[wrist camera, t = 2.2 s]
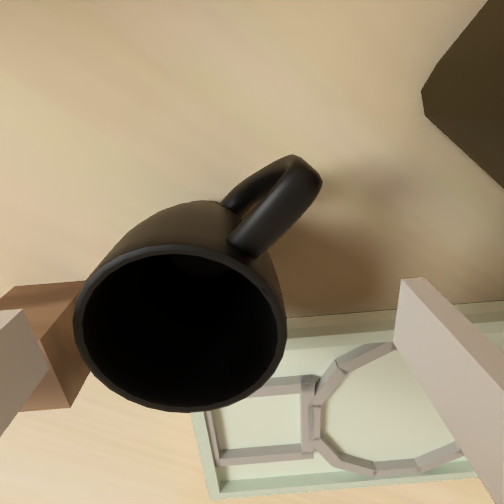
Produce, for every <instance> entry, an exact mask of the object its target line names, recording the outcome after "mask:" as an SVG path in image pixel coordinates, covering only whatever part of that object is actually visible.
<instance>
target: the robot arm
mask: <svg viewBox="0 0 504 504" xmlns="http://www.w3.org/2000/svg"><path fill="white" fill-rule="evenodd" d="M393 343H394V345H395V346H396V348H397V349H398V351H399V353H400V354H401V356H402V357H403V359H404V360H405V362H406V364H407V365H408V367H409V368H410V370H411V372H412V373H413V375H414V376H415V378H416V379H417V381H418V383H419V384H420V386H421V387H422V389H423V390H424V392H425V394H426V395H427V397H428V398H429V400H430V401H431V403H432V405H433V406H434V408H435V409H436V411H437V413H438V414H439V416H440V417H441V419H442V420H443V422H444V424H445V425H446V427H447V428H448V430H449V431H450V433H451V435H452V436H453V438H454V439H455V441H456V442H457V444H458V446H459V447H460V449H461V450H462V452H463V454H464V455H465V457H466V458H467V460H468V461H469V463H470V465H471V466H472V468H473V469H474V471H475V472H476V474H477V476H478V477H479V479H480V480H481V482H482V483H483V485H484V487H485V488H486V490H487V491H488V493H489V494H490V496H491V498H492V499H493V501H494V502H495V504H504V353H503V352H502V351H501V350H500V349H498V348H497V347H496V346H495V345H494V344H493V343H492V342H491V341H490V340H489V339H488V338H487V337H486V336H485V335H484V334H483V333H482V332H481V331H480V330H479V329H478V328H476V327H475V326H474V325H473V324H472V323H471V322H470V321H469V320H468V319H467V318H466V317H465V316H464V315H463V314H462V313H461V312H460V311H459V310H458V309H457V308H455V307H454V306H453V305H452V304H451V303H450V302H449V301H448V300H447V299H446V298H445V297H444V296H443V295H442V294H441V293H440V292H439V291H438V290H437V289H436V288H434V287H433V286H432V285H431V284H430V283H429V282H428V281H427V280H426V279H425V278H424V277H418V278H405V279H401V285H400V292H399V300H398V307H397V315H396V322H395V329H394V337H393ZM48 370H49V367H48V365H47V363H46V360H45V358H44V356H43V353H42V351H41V349H40V347H39V344H38V342H37V340H36V338H35V335H34V333H33V331H32V329H31V326H30V324H29V322H28V319H27V317H26V315H25V313H24V310H23V309H14V310H2V311H0V437H1V435H2V434H3V432H4V431H5V430H6V428H7V427H8V425H9V424H10V423H11V421H12V420H13V419H14V417H15V416H16V414H17V413H18V412H19V410H20V409H21V408H22V406H23V405H24V403H25V402H26V401H27V399H28V398H29V396H30V395H31V394H32V392H33V391H34V390H35V388H36V387H37V385H38V384H39V383H40V381H41V380H42V379H43V377H44V376H45V374H46V373H47V372H48Z"/></svg>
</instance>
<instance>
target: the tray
mask: <svg viewBox="0 0 504 504" xmlns="http://www.w3.org/2000/svg"><path fill="white" fill-rule="evenodd" d="M453 306H454V307H455V308H457V309H458V310H459V311H460V312H461V313H462V314H463V315H464V316H465V317H466V318H467V319H468V320H469V321H470V322H471V323H472V324H473V325H474V326H475V327H476V328H478V329H479V330H480V331H481V332H482V333H483V334H484V335H485V336H486V337H487V338H488V339H489V340H490V341H491V342H492V343H493V344H494V345H495V346H496V347H497V348H498V349H500V350H501V351H502V352H503V353H504V300H503V301H491V302H479V303H467V304H455V305H453ZM396 315H397V309H395V310H383V311H371V312H359V313H347V314H335V315H323V316H311V317H299V318H287V332H288V338H287V342H286V346H285V351H284V355H283V358H282V360H281V362H280V363H279V365H278V367H277V369H276V371H275V373H274V374H273V375H272V376H271V377H270V378H269V380H268V381H267V382H266V383H265V384H264V385H263V386H262V387H261V388H260V389H258V390H257V391H255V392H254V393H253V394H251V395H250V396H248V397H247V398H245V399H243V400H241V401H238V402H236V403H234V404H232V405H230V406H227V407H223V408H219V409H215V410H211V411H204V412H194V413H190V414H191V419H192V423H193V427H194V432H195V436H196V441H197V445H198V449H199V454H200V458H201V463H202V467H203V471H204V476H205V480H206V485H207V489H208V494H209V498H210V500H221V499H233V498H244V497H256V496H268V495H280V494H292V493H304V492H315V491H327V490H339V489H351V488H363V487H375V486H386V485H398V484H410V483H422V482H434V481H445V480H457V479H469V478H479V477H478V476H477V474H476V472H475V471H474V469H473V468H472V466H471V465H470V463H469V461H468V460H467V458H466V457H465V455H464V454H463V452H462V450H461V449H460V447H459V446H458V444H457V442H456V441H455V439H454V438H453V436H452V435H451V433H450V431H449V430H448V428H447V427H446V425H445V424H444V422H443V420H442V419H441V417H440V416H439V414H438V413H437V411H436V409H435V408H434V406H433V405H432V403H431V401H430V400H429V398H428V397H427V395H426V394H425V392H424V390H423V389H422V387H421V386H420V384H419V383H418V381H417V379H416V378H415V376H414V375H413V373H412V372H411V370H410V368H409V367H408V365H407V364H406V362H405V360H404V359H403V357H402V356H401V354H400V353H399V351H398V349H397V348H396V346H395V345H394V343H393V337H394V329H395V322H396Z"/></svg>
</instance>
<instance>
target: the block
mask: <svg viewBox="0 0 504 504" xmlns="http://www.w3.org/2000/svg"><path fill="white" fill-rule="evenodd" d="M84 283H85V281H76V282H64V283H51V284H39V285H27V286H15V287H14V288H12V289H11V290H10V291H9V292H8V293H6V294H5V295H4V296H3V297H2V298H0V311H2V310H14V309H23V310H24V313H25V315H26V317H27V319H28V322H29V324H30V326H31V329H32V331H33V333H34V335H35V338H36V340H37V342H38V344H39V347H40V349H41V351H42V353H43V356H44V358H45V360H46V363H47V365H48V367H49V370H48V372H47V373H46V374H45V376H44V377H43V379H42V380H41V381H40V383H39V384H38V385H37V387H36V388H35V390H34V391H33V392H32V394H31V395H30V396H29V398H28V399H27V401H26V402H25V403H24V405H23V406H22V408H21V409H20V410H19V412H24V411H36V410H48V409H61V408H71V406H72V404H73V402H74V400H75V398H76V397H77V395H78V393H79V391H80V389H81V387H82V386H83V384H84V382H85V380H86V378H87V376H88V375H89V373H90V369H89V368H88V367H87V365H86V364H85V363H84V361H83V360H82V358H81V355H80V353H79V351H78V348H77V346H76V344H75V341H74V333H73V322H72V320H73V314H74V308H75V302H76V299H77V297H78V295H79V293H80V291H81V289H82V287H83V285H84Z"/></svg>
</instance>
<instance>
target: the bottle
mask: <svg viewBox="0 0 504 504" xmlns="http://www.w3.org/2000/svg"><path fill="white" fill-rule="evenodd" d="M421 94H422V100H423V106H424V113H425V116H426V117H427V118H428V119H429V120H430V121H431V122H432V123H434V124H435V125H436V126H437V127H438V128H439V129H440V130H441V131H442V132H443V133H444V134H445V135H447V136H448V137H449V138H450V139H451V140H452V141H453V142H454V143H455V144H456V145H457V146H459V147H460V148H461V149H462V150H463V151H464V152H465V153H466V154H467V155H468V156H469V157H470V158H472V159H473V160H474V161H475V162H476V163H477V164H478V165H479V166H480V167H481V168H482V169H483V170H485V171H486V172H487V173H488V174H489V175H490V176H491V177H492V178H493V179H494V180H495V181H497V182H498V183H499V184H500V185H501V186H502V187H503V188H504V0H488V1H487V3H486V4H485V5H484V6H483V8H482V9H481V10H480V11H479V12H478V14H477V15H476V16H475V17H474V19H473V20H472V21H471V22H470V24H469V25H468V26H467V27H466V29H465V30H464V31H463V32H462V33H461V35H460V36H459V37H458V38H457V40H456V41H455V42H454V43H453V45H452V46H451V47H450V48H449V50H448V51H447V52H446V53H445V54H444V56H443V57H442V58H441V59H440V61H439V62H438V63H437V65H436V66H435V68H434V70H433V71H432V73H431V75H430V76H429V78H428V80H427V81H426V83H425V85H424V87H423V88H422V90H421Z"/></svg>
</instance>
